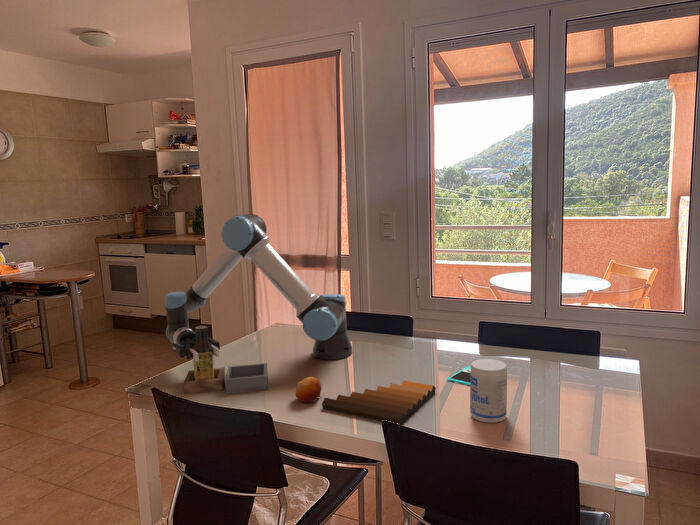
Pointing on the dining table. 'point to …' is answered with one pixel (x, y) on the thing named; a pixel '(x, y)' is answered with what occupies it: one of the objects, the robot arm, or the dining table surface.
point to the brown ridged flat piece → (383, 402)
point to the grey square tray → (246, 378)
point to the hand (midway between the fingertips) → (207, 355)
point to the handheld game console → (461, 376)
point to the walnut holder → (204, 382)
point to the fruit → (308, 390)
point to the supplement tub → (488, 390)
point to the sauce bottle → (203, 355)
